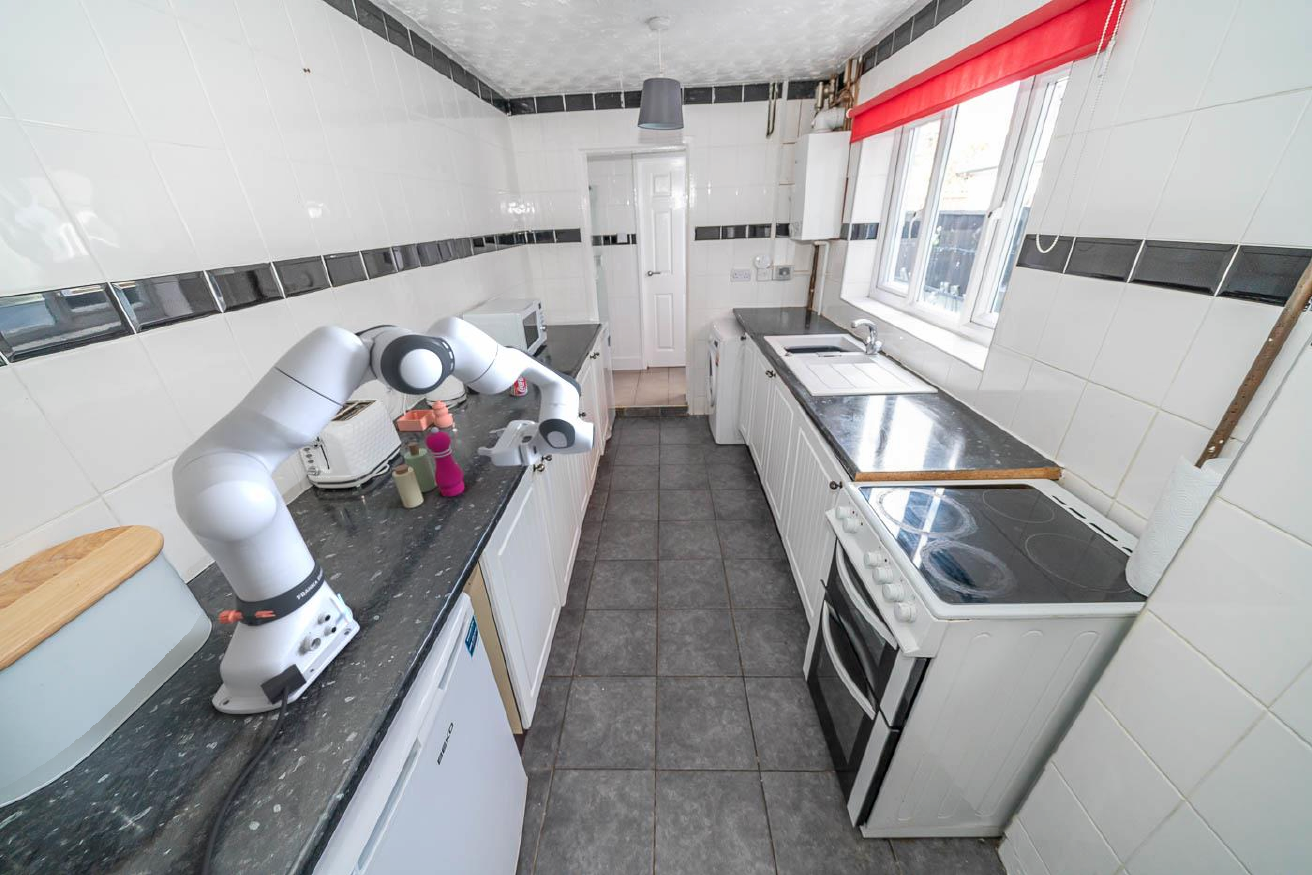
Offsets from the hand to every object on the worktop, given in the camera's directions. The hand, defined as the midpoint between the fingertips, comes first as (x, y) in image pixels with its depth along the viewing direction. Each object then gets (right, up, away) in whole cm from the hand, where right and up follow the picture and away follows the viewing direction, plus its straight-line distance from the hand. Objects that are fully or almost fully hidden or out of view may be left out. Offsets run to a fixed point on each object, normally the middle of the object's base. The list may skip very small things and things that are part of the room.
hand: (484, 442), depth 122 cm
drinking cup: (-34, +21, +78) cm, 88 cm away
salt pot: (-20, -16, +2) cm, 26 cm away
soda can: (-13, +20, +74) cm, 77 cm away
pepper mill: (-11, -14, +7) cm, 19 cm away
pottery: (-39, +6, +49) cm, 63 cm away
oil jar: (-21, -13, +9) cm, 26 cm away
